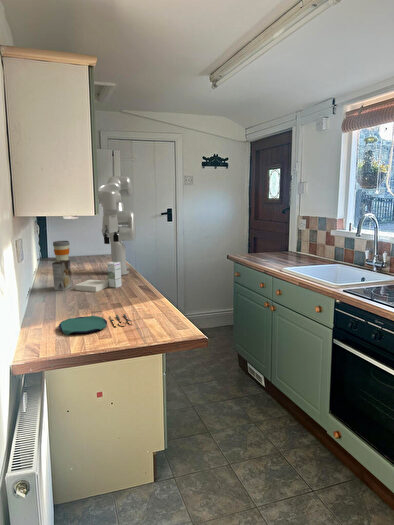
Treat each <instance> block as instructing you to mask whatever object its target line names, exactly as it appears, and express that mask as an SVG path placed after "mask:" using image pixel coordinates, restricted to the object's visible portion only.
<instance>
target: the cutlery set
mask: <svg viewBox="0 0 394 525" xmlns="http://www.w3.org/2000/svg"><path fill="white" fill-rule="evenodd" d="M122 315H124V316H125V317H124V316H123V317H124V319H125V318H128V317H127V315H126V314H125V313H124V314H122ZM109 317H110V318H111V319H112V316H111V315H109V316H108V318H109ZM115 317H116V318H117V319H119V320H121V318H120V317H119V314H115ZM110 318H109V319H110ZM111 319H110V322H111V321H114V322H115V320H114V319H112V320H111ZM119 320H118V321H119ZM127 321H131V322H132V320H131V319H129V318H128V319H127V320H126V322H127ZM107 324H108V321H107V320H106V319H105V318H103V317H102V316H97V315H89V316H87V315H86V316H78V317H77V316H76V317H70V318H67V319H64V320H62V321H61V322H60V323H59V324H58V326H57V327H58V329H59V330H60V331H62V333H63V334H64V335H65V336H69V335H70V334H82V333H83V334H84V333H85V334H86V333H92V332H95V331H99V330H100V331H101V329H102V330H104V329H106V327H107ZM103 328H104V329H103Z"/></svg>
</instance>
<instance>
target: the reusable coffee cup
mask: <svg viewBox="0 0 394 525" xmlns="http://www.w3.org/2000/svg"><path fill="white" fill-rule="evenodd" d="M52 246H53V253H54V255H55V259H56V262H57V261H59V260H69V255H70V241H69V240H55V241H53V242H52Z"/></svg>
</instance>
